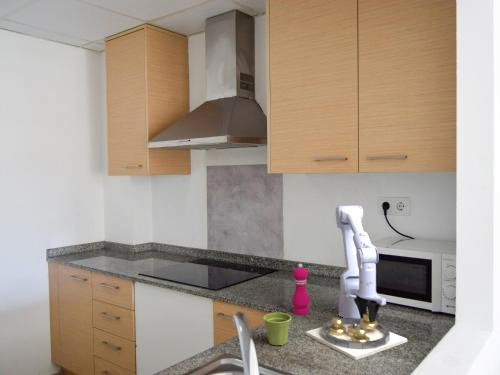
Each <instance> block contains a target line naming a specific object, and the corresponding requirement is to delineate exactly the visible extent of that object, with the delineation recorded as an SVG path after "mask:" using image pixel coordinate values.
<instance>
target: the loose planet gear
mask: <svg viewBox="0 0 500 375" xmlns="http://www.w3.org/2000/svg"><path fill="white" fill-rule="evenodd" d="M378 323H379V322H378V320H376V319H375V322H370V321H369V311H367V312H363V319H362V320H360V327H362V328H365V329H368V330H371V329H376V328H377V327H378Z"/></svg>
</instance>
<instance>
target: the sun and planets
mask: <svg viewBox="0 0 500 375" xmlns="http://www.w3.org/2000/svg"><path fill="white" fill-rule="evenodd" d="M341 318H342V317H333V318H331V320H332V325H331V326H329V333H330V334H332V335H338V336H339V335H344V334H346V327H344V326H342V319H341ZM348 336H349V337H351V341H359V342H364V341H370V338H369V337H368V336H366V329H365V328H362V327H360V326H357V323H353V325H351V326H348Z"/></svg>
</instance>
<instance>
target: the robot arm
mask: <svg viewBox="0 0 500 375" xmlns="http://www.w3.org/2000/svg"><path fill="white" fill-rule="evenodd" d="M363 218H364V209H363V207H362V205H360V204H358V205H337V206H336V208H335V222H336V227H337V228H338V229H340V230H341V234H342V242H343V250H344V260H345V267H346V268H345V269H346V270H344V272H342V273H341V275H340V277H339V278H340V279H339V280H340V282H339V283H340V284H339V286H340V287H339V288H340V293H341V294H340V296H339V298H338V314H337V316H338V315H339V316H338V317H340V316H341V317H340V318H342V317H343V318H361V319H363V312H369V321H370V322H375V320H376V318H377V316H378V312H379V310H380V308H381V306H385V305H386V304H387V299H386V298H384V297H383V296H381V295H379V294H378V292H377V265H376V264H378V263H379V260H380V259H379V251H378V248H377V247H376V246H375V245H373V244H372V242H371V240H370V237H369V234H368V232H366V231H364V228H363V223H362V221H363Z"/></svg>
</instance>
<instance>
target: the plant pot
mask: <svg viewBox="0 0 500 375" xmlns="http://www.w3.org/2000/svg"><path fill="white" fill-rule="evenodd" d="M262 318H263V320H264V322H265V325H266V331H267V338H268V343H269V344H270V345H271V344H272V345H271V346H277V345H281V346H285V345H286V344H287V343H288V337H289V330H290V328H289V326H290V323H291V320H292V316H291V315H290V314H288V313H284V312H271V313H267V314H265V315H263V317H262ZM284 344H285V345H284Z"/></svg>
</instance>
